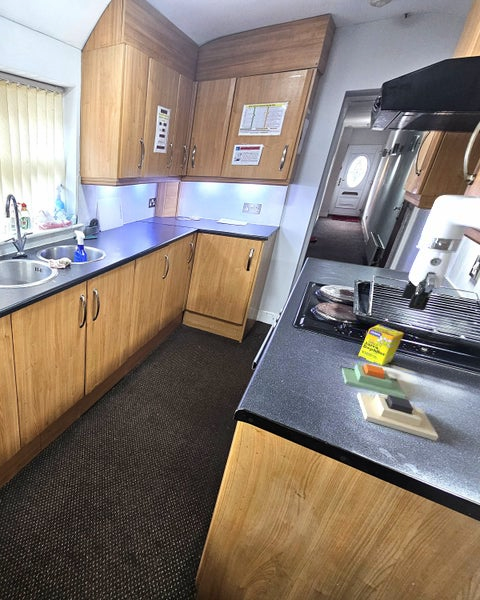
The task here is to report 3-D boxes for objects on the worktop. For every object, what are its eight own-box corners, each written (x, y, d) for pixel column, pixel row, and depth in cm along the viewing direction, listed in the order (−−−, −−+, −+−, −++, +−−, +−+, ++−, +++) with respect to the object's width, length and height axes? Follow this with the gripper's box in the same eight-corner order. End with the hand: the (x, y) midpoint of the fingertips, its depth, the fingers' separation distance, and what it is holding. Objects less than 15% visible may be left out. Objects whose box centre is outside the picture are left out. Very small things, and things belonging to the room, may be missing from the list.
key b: (379, 373, 88) (382, 367, 87) (383, 379, 85) (385, 374, 84) (363, 369, 90) (365, 363, 89) (365, 375, 87) (368, 370, 86)
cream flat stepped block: (420, 412, 77) (425, 402, 76) (436, 441, 69) (442, 430, 68) (357, 395, 83) (361, 386, 82) (365, 420, 75) (369, 409, 74)
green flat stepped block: (393, 379, 90) (397, 370, 88) (404, 400, 82) (409, 390, 80) (339, 366, 95) (342, 358, 94) (344, 384, 87) (348, 375, 86)
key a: (405, 405, 76) (408, 399, 75) (410, 415, 73) (413, 409, 72) (385, 400, 77) (388, 394, 77) (389, 409, 75) (392, 403, 74)
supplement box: (356, 360, 99) (368, 328, 94) (366, 354, 101) (379, 323, 97) (379, 370, 94) (394, 337, 89) (390, 364, 96) (404, 332, 92)
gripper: (469, 252, 78) (438, 317, 84) (448, 240, 91) (422, 297, 97) (426, 247, 82) (399, 310, 88) (411, 237, 95) (389, 292, 101)
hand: (411, 303), depth 93 cm, fingers open, 9 cm apart
